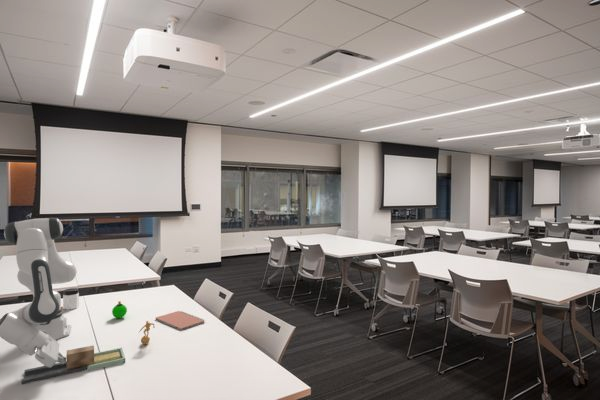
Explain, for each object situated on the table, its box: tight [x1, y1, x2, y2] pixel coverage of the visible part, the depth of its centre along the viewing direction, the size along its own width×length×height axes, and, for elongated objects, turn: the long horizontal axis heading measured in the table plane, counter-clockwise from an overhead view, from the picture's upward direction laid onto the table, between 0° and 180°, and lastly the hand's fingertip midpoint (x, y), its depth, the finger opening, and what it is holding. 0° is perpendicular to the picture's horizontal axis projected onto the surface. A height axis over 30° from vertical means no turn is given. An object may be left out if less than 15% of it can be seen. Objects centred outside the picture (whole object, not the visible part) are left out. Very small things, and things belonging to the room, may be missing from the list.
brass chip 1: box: [94, 354, 107, 364], centre depth 159 cm, size 5×5×2 cm
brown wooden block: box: [65, 345, 95, 369], centre depth 155 cm, size 10×5×7 cm, turn 122°
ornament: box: [111, 300, 128, 319], centre depth 218 cm, size 8×8×10 cm
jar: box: [62, 287, 80, 311], centre depth 237 cm, size 9×8×12 cm
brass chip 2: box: [107, 352, 121, 361], centre depth 162 cm, size 5×5×2 cm
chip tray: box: [87, 347, 126, 371], centre depth 160 cm, size 14×13×3 cm
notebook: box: [155, 310, 205, 331], centre depth 213 cm, size 27×17×2 cm, turn 51°
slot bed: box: [21, 360, 88, 385], centre depth 150 cm, size 22×11×2 cm, turn 122°
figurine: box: [138, 320, 155, 345], centre depth 180 cm, size 8×6×12 cm
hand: (64, 361), depth 152 cm, fingers closed, pressing on brown wooden block
